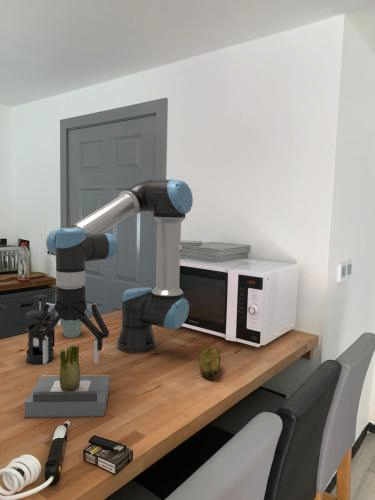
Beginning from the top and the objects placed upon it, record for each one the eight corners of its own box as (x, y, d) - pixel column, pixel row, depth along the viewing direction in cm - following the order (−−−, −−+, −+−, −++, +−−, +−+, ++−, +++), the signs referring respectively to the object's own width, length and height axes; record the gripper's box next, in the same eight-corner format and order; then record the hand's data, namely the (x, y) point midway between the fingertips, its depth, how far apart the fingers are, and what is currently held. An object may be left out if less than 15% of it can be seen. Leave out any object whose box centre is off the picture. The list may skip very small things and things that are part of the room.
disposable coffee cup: (74, 329, 174) (74, 296, 172) (91, 335, 167) (91, 300, 166) (53, 335, 165) (53, 300, 164) (70, 341, 159) (70, 304, 157)
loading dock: (109, 387, 120) (110, 368, 120) (103, 416, 104) (104, 394, 103) (41, 387, 118) (41, 368, 118) (24, 417, 102) (24, 395, 101)
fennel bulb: (60, 394, 106) (60, 350, 105) (57, 386, 111) (58, 344, 109) (82, 390, 109) (82, 348, 107) (79, 383, 113) (79, 342, 112)
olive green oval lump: (191, 378, 129) (192, 354, 128) (202, 364, 141) (203, 342, 140) (216, 383, 126) (217, 358, 126) (225, 368, 139) (226, 345, 138)
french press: (39, 367, 133) (39, 300, 130) (18, 362, 136) (17, 296, 134) (63, 355, 144) (63, 293, 141) (42, 351, 147) (42, 290, 145)
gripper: (118, 283, 111) (118, 355, 114) (26, 282, 109) (28, 356, 111) (116, 289, 104) (116, 366, 107) (17, 288, 101) (19, 367, 104)
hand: (71, 361), depth 109 cm, fingers open, 13 cm apart
